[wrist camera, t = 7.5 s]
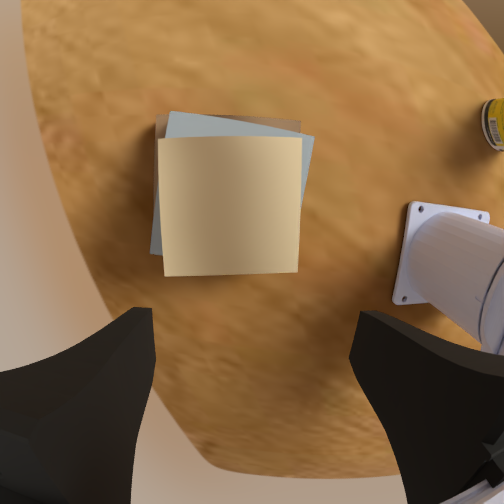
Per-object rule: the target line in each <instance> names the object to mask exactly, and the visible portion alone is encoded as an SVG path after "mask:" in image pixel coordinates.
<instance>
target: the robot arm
mask: <svg viewBox="0 0 504 504" xmlns="http://www.w3.org/2000/svg"><path fill="white" fill-rule="evenodd" d="M420 206H421V210H420V211H419V210H418V209H419V207H420ZM478 216H479V218H478ZM489 219H490V216H489V213H488V212H485V211H479V210H473V209H467V208H460V207H454V206H447V205H440V204H433V203H425V202H417V201H412V202H410V204H409V206H408V212H407V219H406V226H405V233H404V239H403V245H402V251H401V257H400V262H399V268H398V273H397V278H396V283H395V287H394V292H393V297H392V301H393V303H395V304H396V305H405V304H418V303H430V304H432V305H433V306H434V307H436V308H437V309H438V310H439V311H441V312H442V313H443V314H445V315H446V316H447V317H448V318H450V319H451V320H452V321H454V322H455V323H456V324H457V325H459V326H460V327H461V328H462V329H464V330H465V331H466V332H467V333H469V334H470V335H471V336H472V337H473V338H475V339H476V340H477V341H478V342H480V343H481V344H482V346H481V351H478V350H474V349H470V348H467V347H464V346H461V345H457V344H454V343H452V342H449V341H446V340H444V339H441V338H439V337H436V336H434V335H431V334H429V333H427V332H425V331H422V330H420V329H418V328H416V327H414V326H411V325H409V324H407V323H405V322H403V321H401V320H399V319H396V318H394V317H392V316H389V315H387V314H384V313H382V312H379V311H360V315H359V320H358V324H357V328H356V332H355V336H354V340H353V344H352V348H351V351H350V355H349V360H350V363H351V366H352V368H353V371H354V374H355V376H356V379H357V381H358V383H359V384H360V386H361V388H362V390H363V392H364V393H365V395H366V397H367V399H368V400H369V402H370V404H371V406H372V407H373V409H374V411H375V413H376V414H377V416H378V418H379V420H380V421H381V423H382V425H383V427H384V429H385V431H386V434H387V436H388V439H389V441H390V444H391V446H392V449H393V452H394V455H395V458H396V461H397V464H398V467H399V470H400V473H401V477H402V481H403V485H404V488H405V493H406V497H407V503H408V504H504V229H501V228H499V227H496V226H493V225H490V224H489ZM404 296H405V297H404ZM403 297H404V299H403V300H402V298H403ZM155 362H156V355H155V344H154V332H153V319H152V308H142V307H133V308H131V309H130V310H128V311H127V312H125V313H124V314H122V315H121V316H120V317H118V318H117V319H115V320H114V321H112V322H111V323H110V324H108V325H107V326H105V327H104V328H102V329H101V330H99V331H98V332H96V333H95V334H93V335H91V336H90V337H88V338H86V339H85V340H83V341H82V342H80V343H78V344H76V345H75V346H73V347H70V348H69V349H67V350H64V351H62V352H60V353H58V354H56V355H54V356H51V357H49V358H46V359H43V360H40V361H38V362H35V363H32V364H29V365H26V366H23V367H20V368H16V369H12V370H7V371H3V372H0V504H131V486H132V485H131V484H132V474H133V464H134V456H135V448H136V442H137V437H138V432H139V429H140V425H141V421H142V417H143V414H144V411H145V407H146V403H147V400H148V397H149V393H150V390H151V386H152V382H153V376H154V369H155Z"/></svg>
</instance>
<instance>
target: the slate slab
mask: <svg viewBox="0 0 504 504" xmlns="http://www.w3.org/2000/svg"><path fill="white" fill-rule="evenodd" d="M206 136H269V137H296V138H302V171H301V205H302V200H303V195H304V190H305V185H306V180H307V175H308V170H309V165H310V159H311V154H312V149H313V144H314V138H315V137H314V136H310V135H305V134H301V133H297V132H293V131H288V130H284V129H279V128H274V127H270V126H265V125H260V124H254V123H249V122H244V121H238V120H232V119H226V118H220V117H214V116H207V115H200V114H192V113H184V112H176V111H170V114H169V119H168V125H167V130H166V136H165V138H180V137H206ZM300 210H301V206H300ZM150 254H156V255H163V250H162V236H161V221H160V202H159V179H158V186H157V193H156V201H155V209H154V217H153V226H152V236H151V246H150Z"/></svg>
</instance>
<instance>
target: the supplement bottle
mask: <svg viewBox="0 0 504 504" xmlns="http://www.w3.org/2000/svg"><path fill="white" fill-rule="evenodd" d="M482 128H483V132H484V135H485V137H486V139H487V141H488V142H489V144H490V145H491V146H492V147H493V148H494V149H496V150H498V151H504V98H501V99H491V100H489V101H487V102H486V103H485V105H484V107H483V110H482Z"/></svg>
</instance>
